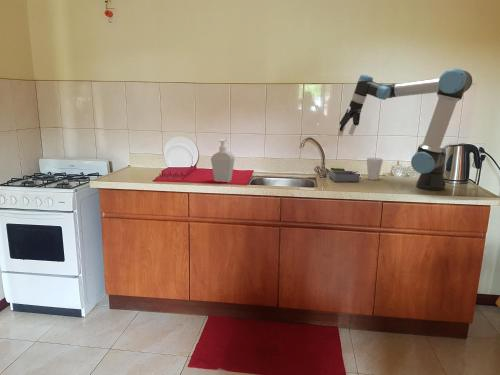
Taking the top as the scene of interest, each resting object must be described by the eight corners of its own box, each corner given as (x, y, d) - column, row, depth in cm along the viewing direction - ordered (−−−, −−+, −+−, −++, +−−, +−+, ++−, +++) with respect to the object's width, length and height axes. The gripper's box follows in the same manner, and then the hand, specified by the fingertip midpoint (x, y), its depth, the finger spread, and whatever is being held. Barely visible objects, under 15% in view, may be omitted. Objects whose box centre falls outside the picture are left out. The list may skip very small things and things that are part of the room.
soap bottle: (235, 180, 235) (235, 138, 229) (231, 183, 225) (230, 140, 220) (216, 179, 237) (215, 138, 232) (211, 182, 228) (210, 139, 222)
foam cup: (378, 181, 235) (380, 160, 232) (363, 179, 240) (365, 158, 237) (382, 178, 243) (384, 158, 240) (368, 177, 248) (369, 157, 245)
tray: (358, 182, 230) (359, 175, 229) (335, 182, 230) (335, 175, 229) (351, 177, 245) (352, 170, 244) (329, 177, 244) (329, 170, 243)
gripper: (361, 99, 236) (349, 131, 244) (341, 99, 217) (329, 133, 226) (372, 103, 231) (359, 136, 240) (352, 103, 213) (339, 138, 222)
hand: (345, 135), depth 233 cm, fingers open, 13 cm apart
